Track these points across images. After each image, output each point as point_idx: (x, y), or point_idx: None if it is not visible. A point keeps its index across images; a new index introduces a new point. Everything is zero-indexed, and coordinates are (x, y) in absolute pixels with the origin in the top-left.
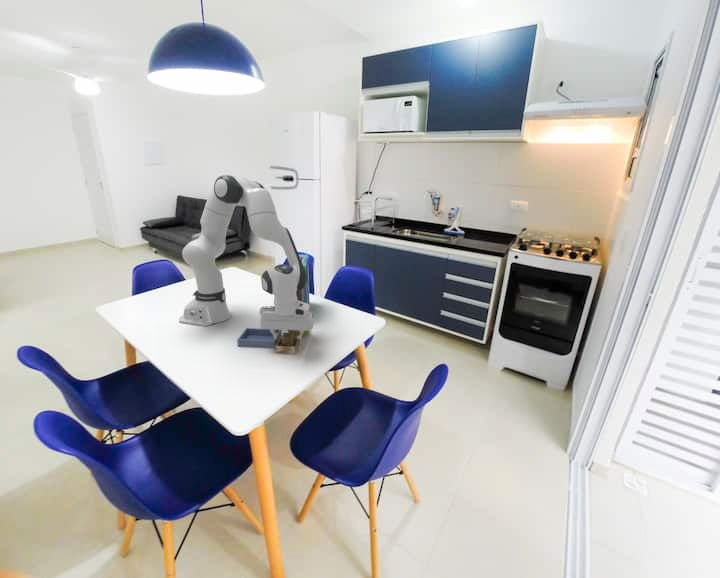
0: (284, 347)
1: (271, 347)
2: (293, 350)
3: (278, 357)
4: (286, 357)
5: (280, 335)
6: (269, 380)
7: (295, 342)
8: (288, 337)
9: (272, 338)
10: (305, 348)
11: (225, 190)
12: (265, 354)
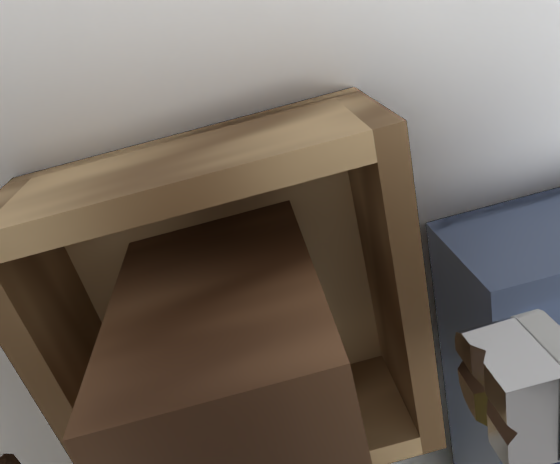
0: (197, 172)
1: (489, 217)
2: (24, 199)
3: (262, 12)
4: (129, 61)
5: None
6: None
7: None
8: (158, 424)
9: None
10: (16, 379)
11: None
12: (515, 29)
